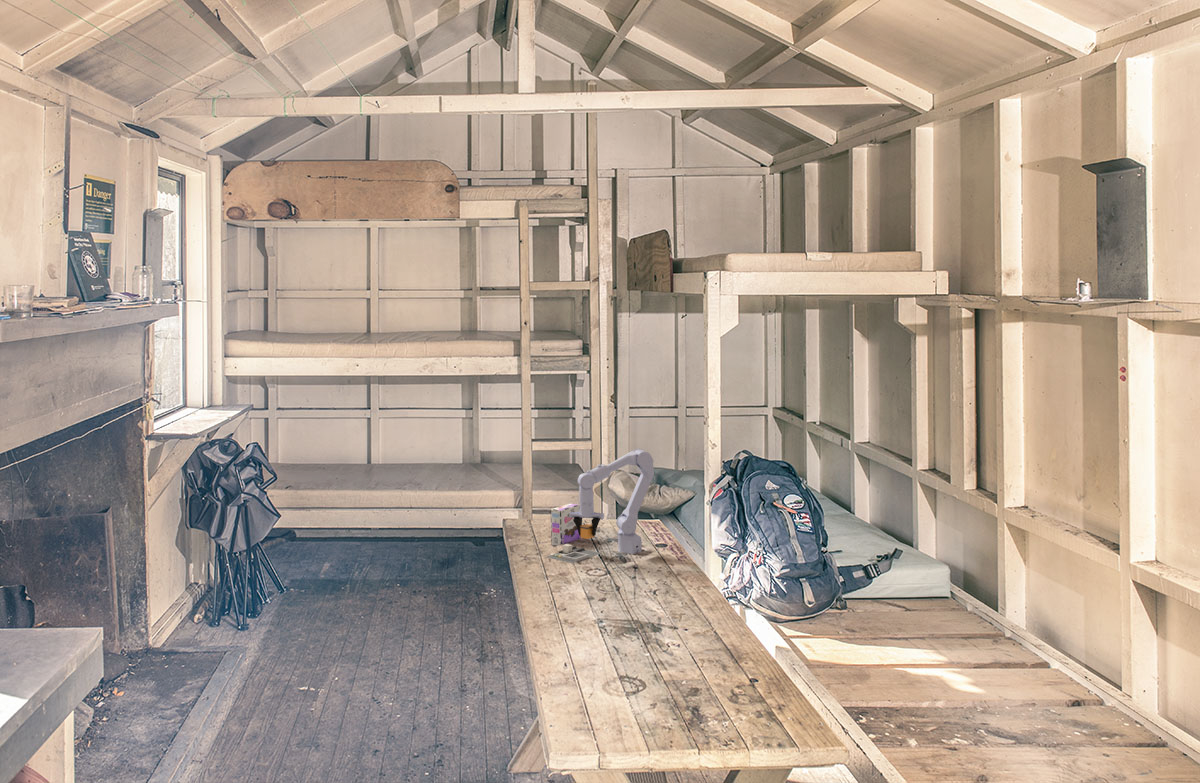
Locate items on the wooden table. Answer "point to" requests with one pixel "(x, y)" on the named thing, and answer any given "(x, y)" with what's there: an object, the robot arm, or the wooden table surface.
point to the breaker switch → (567, 548)
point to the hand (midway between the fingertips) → (587, 535)
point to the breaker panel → (573, 555)
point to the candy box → (563, 525)
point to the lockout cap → (586, 531)
